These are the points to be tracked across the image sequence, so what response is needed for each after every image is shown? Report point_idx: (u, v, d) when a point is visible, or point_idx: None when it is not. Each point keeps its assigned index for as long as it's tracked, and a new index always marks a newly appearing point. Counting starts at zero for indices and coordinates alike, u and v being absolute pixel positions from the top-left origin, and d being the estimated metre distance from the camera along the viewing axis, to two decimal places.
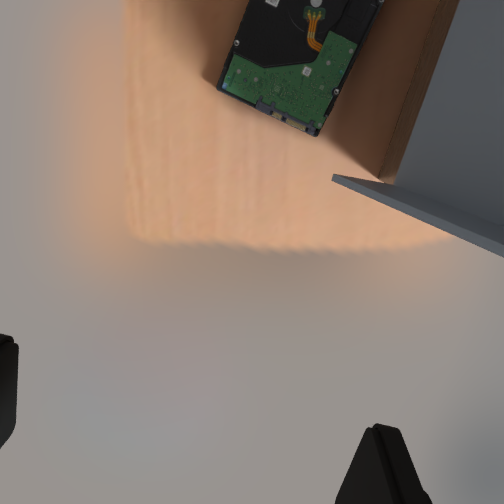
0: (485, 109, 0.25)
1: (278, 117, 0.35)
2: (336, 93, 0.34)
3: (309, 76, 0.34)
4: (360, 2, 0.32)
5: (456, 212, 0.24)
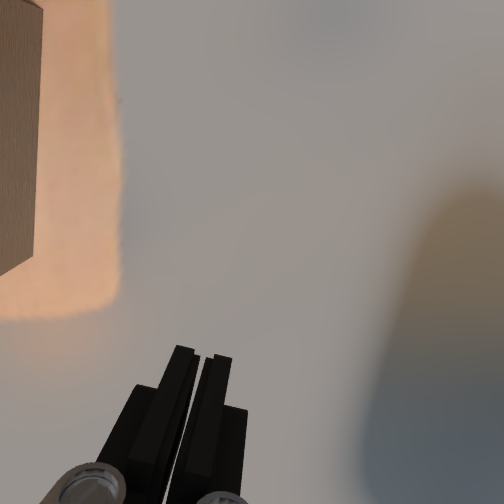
0: None
1: None
2: None
3: None
4: None
5: None
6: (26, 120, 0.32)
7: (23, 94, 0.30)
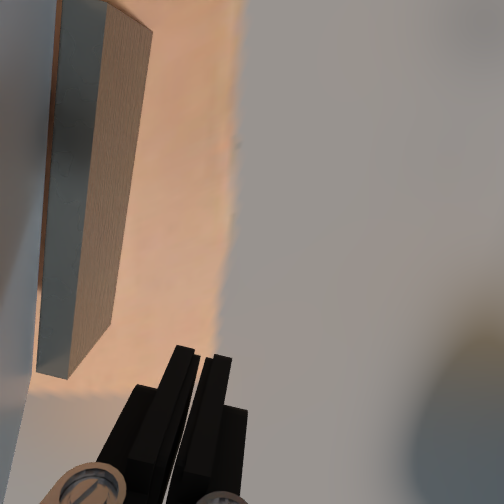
0: None
1: None
2: None
3: None
4: None
5: None
6: (124, 169, 0.25)
7: (125, 138, 0.24)
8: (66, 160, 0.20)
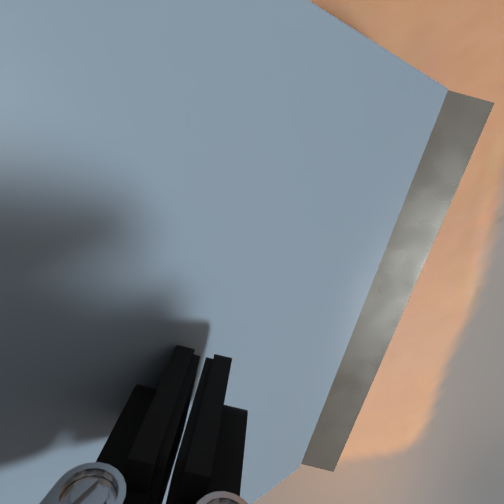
0: None
1: None
2: None
3: None
4: None
5: None
6: None
7: None
8: (398, 258, 0.19)
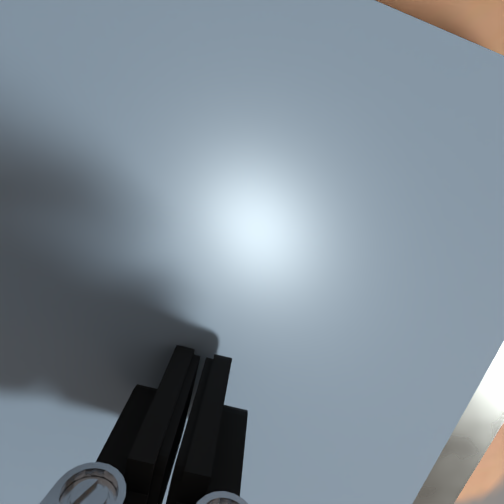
0: None
1: None
2: None
3: None
4: None
5: None
6: None
7: None
8: None
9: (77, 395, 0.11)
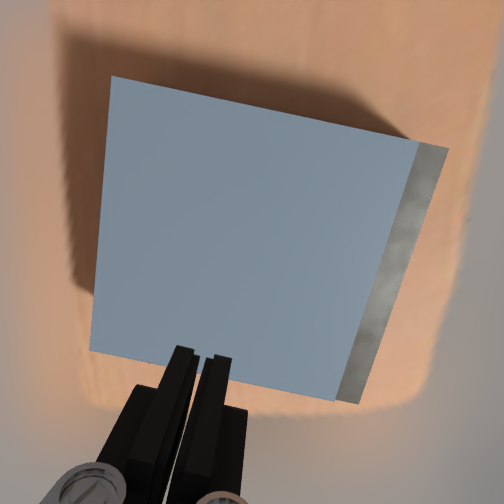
0: None
1: None
2: None
3: None
4: None
5: None
6: None
7: None
8: (395, 248, 0.28)
9: (163, 250, 0.29)
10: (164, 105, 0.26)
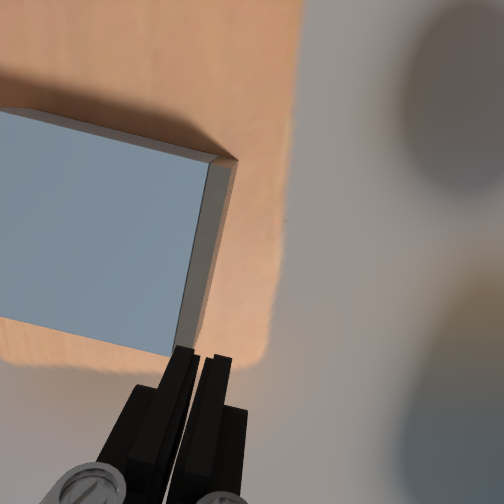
0: None
1: None
2: None
3: None
4: None
5: None
6: (220, 237, 0.43)
7: (223, 221, 0.42)
8: (202, 241, 0.38)
9: (31, 236, 0.38)
10: (22, 129, 0.35)
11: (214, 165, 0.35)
